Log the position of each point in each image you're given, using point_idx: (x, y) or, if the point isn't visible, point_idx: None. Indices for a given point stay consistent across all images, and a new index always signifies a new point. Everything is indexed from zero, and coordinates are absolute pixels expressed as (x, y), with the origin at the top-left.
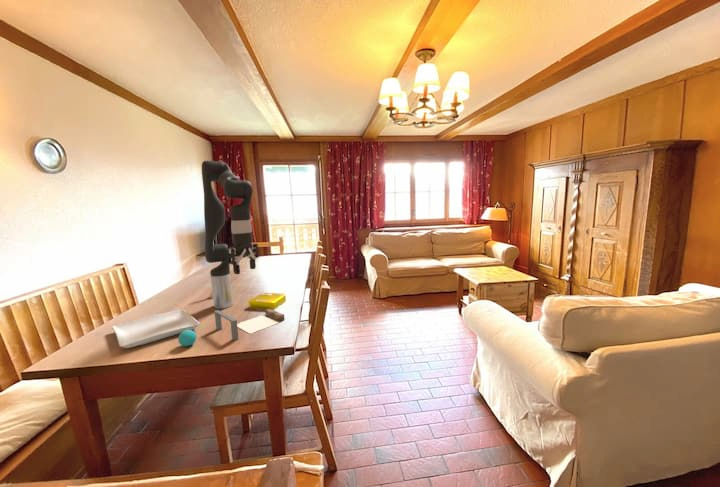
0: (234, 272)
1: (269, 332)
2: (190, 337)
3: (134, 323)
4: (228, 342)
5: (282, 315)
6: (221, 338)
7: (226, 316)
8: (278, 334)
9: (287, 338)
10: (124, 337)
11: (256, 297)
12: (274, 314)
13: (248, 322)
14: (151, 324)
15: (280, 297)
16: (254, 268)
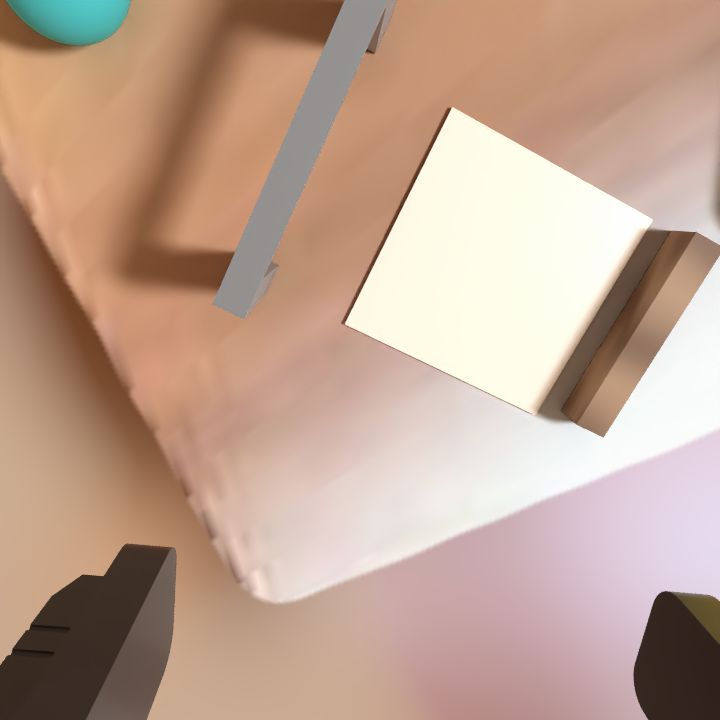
0: (70, 600)
1: (392, 429)
2: (38, 28)
3: None
4: (210, 259)
5: (590, 430)
6: (244, 169)
7: (285, 172)
8: (378, 494)
9: (344, 564)
10: None
11: None
12: (616, 353)
13: (507, 195)
14: None
15: None
16: (649, 696)
